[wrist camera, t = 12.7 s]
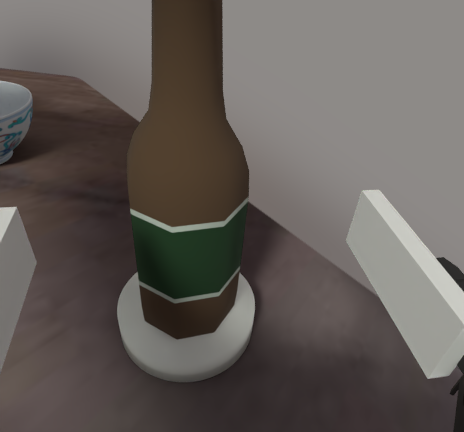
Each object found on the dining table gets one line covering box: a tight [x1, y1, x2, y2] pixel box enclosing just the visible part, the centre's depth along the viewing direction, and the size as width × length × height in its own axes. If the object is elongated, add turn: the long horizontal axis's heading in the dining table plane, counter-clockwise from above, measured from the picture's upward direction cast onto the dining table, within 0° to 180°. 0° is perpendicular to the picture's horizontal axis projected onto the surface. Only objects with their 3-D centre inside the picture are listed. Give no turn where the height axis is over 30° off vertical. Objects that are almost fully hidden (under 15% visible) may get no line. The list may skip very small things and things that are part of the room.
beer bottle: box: [126, 0, 249, 340], centre depth 23 cm, size 8×8×24 cm
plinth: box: [117, 272, 255, 382], centre depth 32 cm, size 11×11×2 cm
